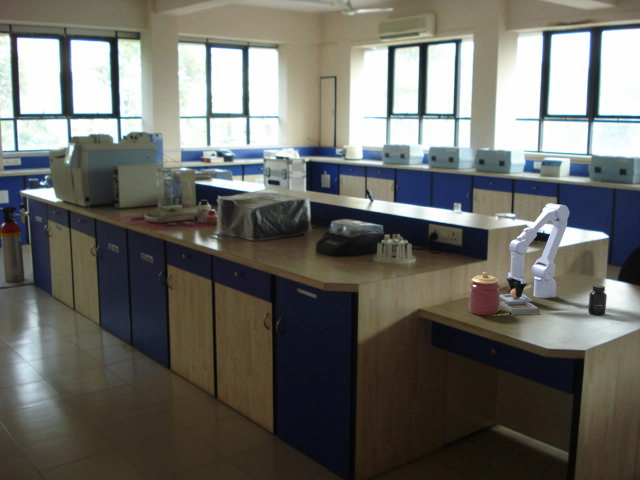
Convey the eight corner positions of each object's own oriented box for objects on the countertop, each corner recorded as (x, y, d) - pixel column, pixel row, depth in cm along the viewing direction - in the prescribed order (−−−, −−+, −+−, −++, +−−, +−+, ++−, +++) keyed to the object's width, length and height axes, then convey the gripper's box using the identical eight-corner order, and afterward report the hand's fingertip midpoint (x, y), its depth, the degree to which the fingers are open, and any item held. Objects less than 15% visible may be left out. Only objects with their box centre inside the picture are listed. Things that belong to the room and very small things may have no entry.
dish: (521, 297, 314) (521, 293, 313) (532, 303, 303) (532, 299, 303) (499, 298, 312) (499, 294, 312) (509, 304, 301) (509, 300, 301)
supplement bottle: (597, 316, 282) (599, 288, 280) (584, 312, 288) (586, 285, 286) (609, 314, 285) (611, 286, 283) (595, 310, 291) (597, 283, 289)
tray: (525, 305, 300) (525, 300, 299) (538, 313, 288) (538, 307, 288) (500, 306, 298) (500, 301, 298) (511, 314, 286) (511, 309, 286)
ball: (518, 297, 310) (519, 286, 309) (523, 300, 305) (523, 289, 304) (508, 297, 309) (508, 287, 309) (513, 300, 305) (513, 289, 304)
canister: (503, 315, 285) (505, 275, 282) (473, 316, 284) (474, 275, 281) (493, 307, 298) (495, 268, 294) (464, 308, 297) (466, 268, 294)
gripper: (502, 263, 311) (501, 291, 314) (515, 270, 297) (514, 299, 299) (516, 262, 312) (515, 291, 315) (531, 269, 298) (529, 299, 300)
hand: (515, 295), depth 307 cm, fingers closed on ball, 5 cm apart
